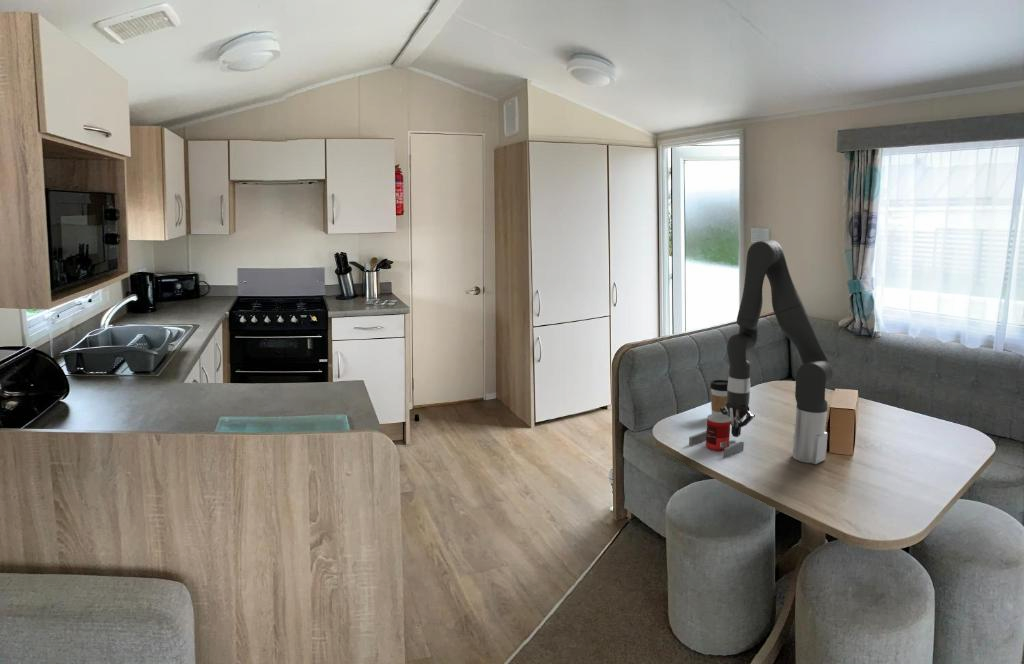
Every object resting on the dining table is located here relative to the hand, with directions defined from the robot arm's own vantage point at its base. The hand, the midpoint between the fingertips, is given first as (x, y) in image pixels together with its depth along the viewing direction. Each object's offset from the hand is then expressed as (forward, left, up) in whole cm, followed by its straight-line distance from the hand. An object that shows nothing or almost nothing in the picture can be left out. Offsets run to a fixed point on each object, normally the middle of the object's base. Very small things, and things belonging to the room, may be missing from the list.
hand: (735, 436), depth 249 cm
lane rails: (0, +12, -2) cm, 12 cm away
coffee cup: (+17, -15, -2) cm, 23 cm away
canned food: (0, +11, -2) cm, 11 cm away
